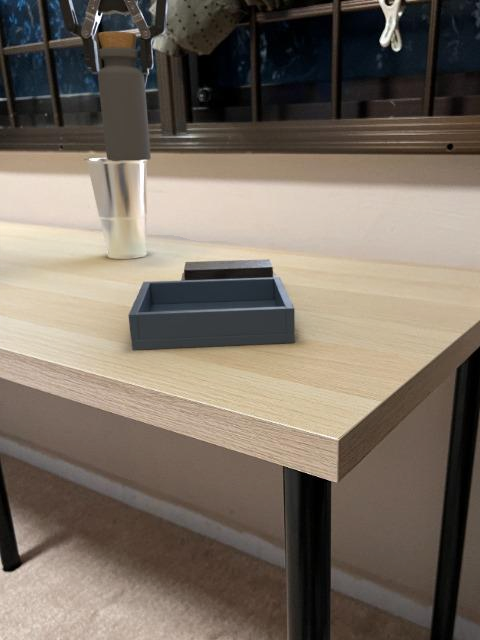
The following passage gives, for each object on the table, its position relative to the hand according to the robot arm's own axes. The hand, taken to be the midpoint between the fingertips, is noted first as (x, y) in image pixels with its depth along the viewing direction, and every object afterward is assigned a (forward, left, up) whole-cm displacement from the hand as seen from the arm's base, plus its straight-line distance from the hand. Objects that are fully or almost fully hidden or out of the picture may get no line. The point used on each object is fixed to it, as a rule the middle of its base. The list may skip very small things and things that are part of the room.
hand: (120, 72), depth 79 cm
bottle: (0, 0, -11) cm, 11 cm away
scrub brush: (+13, -12, -26) cm, 32 cm away
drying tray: (+11, -27, -26) cm, 40 cm away
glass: (-3, +16, -27) cm, 31 cm away
